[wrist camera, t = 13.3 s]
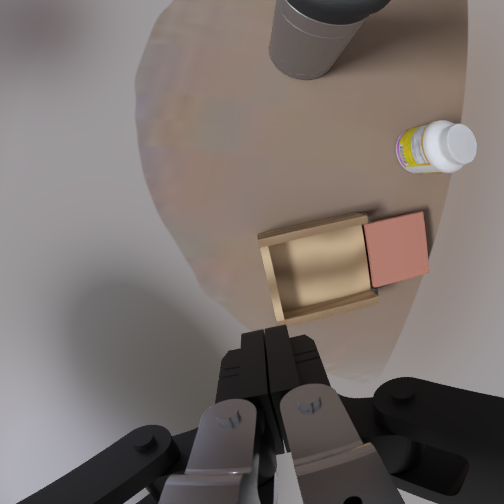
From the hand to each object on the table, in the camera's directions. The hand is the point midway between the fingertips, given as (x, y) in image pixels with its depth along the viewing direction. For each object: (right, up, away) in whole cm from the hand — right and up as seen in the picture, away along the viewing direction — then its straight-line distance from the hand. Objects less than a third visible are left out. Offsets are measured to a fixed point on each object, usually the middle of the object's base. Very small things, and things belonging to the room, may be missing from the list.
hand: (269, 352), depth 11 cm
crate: (+8, +2, +34) cm, 35 cm away
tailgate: (+15, +3, +32) cm, 36 cm away
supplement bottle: (+23, +18, +31) cm, 43 cm away
